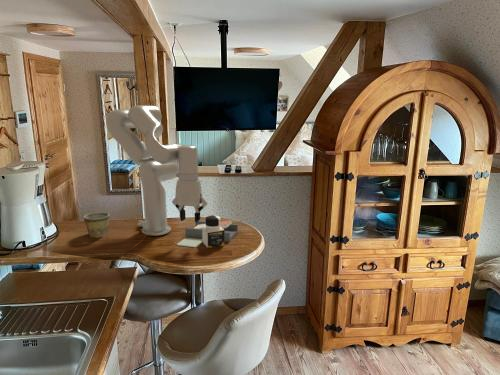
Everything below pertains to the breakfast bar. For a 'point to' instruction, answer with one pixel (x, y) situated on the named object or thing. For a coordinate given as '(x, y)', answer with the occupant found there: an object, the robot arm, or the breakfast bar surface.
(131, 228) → the breakfast bar surface
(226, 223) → the rocker
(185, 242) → the sage mat
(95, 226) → the ceramic cup
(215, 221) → the medicine bottle
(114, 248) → the breakfast bar surface
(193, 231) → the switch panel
